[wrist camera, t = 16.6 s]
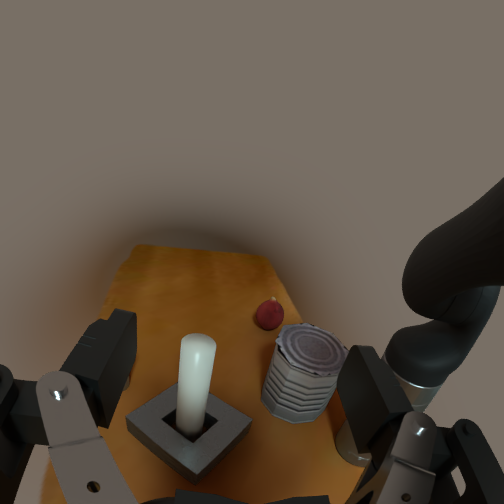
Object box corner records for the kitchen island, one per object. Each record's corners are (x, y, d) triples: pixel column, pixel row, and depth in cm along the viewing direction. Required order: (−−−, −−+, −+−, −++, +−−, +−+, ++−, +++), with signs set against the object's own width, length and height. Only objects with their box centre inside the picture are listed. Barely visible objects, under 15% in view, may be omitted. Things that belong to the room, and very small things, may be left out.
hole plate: (184, 391, 44) (185, 376, 42) (248, 433, 38) (252, 419, 37) (127, 430, 34) (125, 416, 32) (195, 485, 28) (197, 474, 27)
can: (299, 370, 54) (319, 318, 50) (338, 410, 45) (366, 357, 41) (247, 385, 48) (262, 329, 44) (284, 433, 39) (309, 379, 35)
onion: (280, 325, 68) (288, 294, 65) (278, 339, 62) (288, 307, 60) (254, 319, 68) (262, 288, 65) (251, 333, 63) (259, 300, 60)
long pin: (187, 420, 38) (197, 329, 32) (206, 434, 37) (223, 345, 31) (170, 433, 35) (174, 342, 29) (190, 448, 34) (200, 360, 28)
